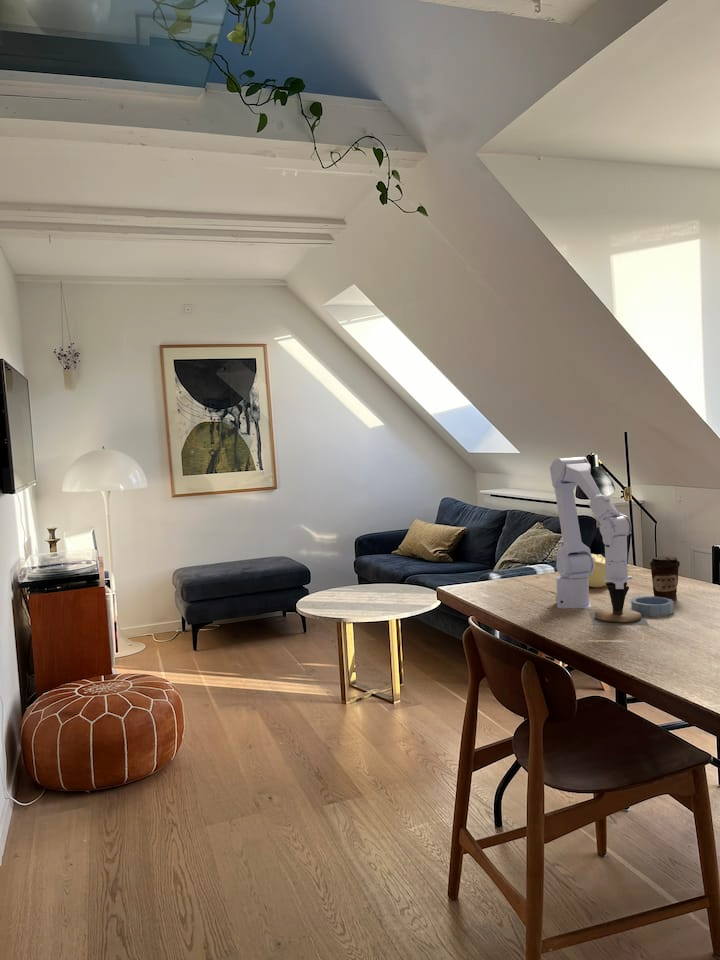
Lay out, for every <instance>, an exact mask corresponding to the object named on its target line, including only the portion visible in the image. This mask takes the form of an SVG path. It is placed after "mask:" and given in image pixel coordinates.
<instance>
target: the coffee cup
mask: <svg viewBox="0 0 720 960" xmlns="http://www.w3.org/2000/svg"><path fill="white" fill-rule="evenodd" d="M651 559H652V560H651V561H650V563H649V566H650V569H651V573H650V574H651V580H652V590H653V596H654V597H664V598H668V599H672V600H673V602H677V601H678V598H677V589H678V583H679V569H680V564H681V562H680V561H679V560H678V557H676V556H656V557H652V558H651Z"/></svg>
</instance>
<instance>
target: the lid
mask: <svg viewBox="0 0 720 960" xmlns="http://www.w3.org/2000/svg"><path fill="white" fill-rule="evenodd" d="M611 607H612V608H603V609H599V610H597V611H594V612H595V617H596V618H597V619H599V620H603V621H608V622H633V621H637V620H640V619H641V614H640V613H639V612H637V611H634V610H631V609H629V608H628V609H627V608H623V610H622V611H614V609H613V604H612V603H611Z"/></svg>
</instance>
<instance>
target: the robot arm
mask: <svg viewBox="0 0 720 960" xmlns="http://www.w3.org/2000/svg"><path fill="white" fill-rule="evenodd" d="M591 465H592V464H590V462H589V461H588V459H587V458H586V457H585V456H577V457H565V458H564V457H563V458H561V457H557V458H554V459H553V461H552V463H551V465H550V467H549V471H550V472H549V473H550V478H551V483H552V484H551V485H552V487H553V488H554V493H555V499H556V506H557V513H558V517H559V518H558V519H559V524H560V525H559V526H560V531H561V537H562V545H561V547H560V548H559V549H558V550H557V551H556V552H555V553H556V563H555V565H556V566H555V567H556V571H557V572H558V574H559V575H560V576H556V578H555V580H556V582H555V584H556V595H555V602H556V603H557V604H556V605H557V608H558V609H592V605H591V602H590V591H589V588H590V586H589V583H588V576H591V575H590V573H592V571H593V570H594V559H593V557H592V555H591V554H592V553H591V548H590V547H589V546H587V545H586V544H584V542H583V541H582V535H581V530H580V523H579V518H578V511H577V505H576V499H575V498H576V497H575V493H574V490H575V488H576V487H577V486H578V487H579V488H580V489H581V490H582V492H583V493H584V494H585V495H586V497H587V498H588V499H589V508H590V510H591V512H592V513H593V514H594V516H595V518H596V519H597V521H598V522H599V524H600V526H599V533H600V534H601V536H602V542H603V544H604V558H605V569H606V576H605V580H607V581H609V582H605V584H606V585H605V586H606V588H607V589H608V593H609V596H610V601H611V605H612V604H613V608H612V609H614V611H622V610H623V609H624V607H625V606H624V605H625V600H626V596H627V593H628V592H629V590H630V586H628V583H627V581H628V580H633V576H632V575H628V574H629V572H628V536H629V535H630V534H631V533H632V522H631V520H630V519H629V518H630V517H628V516H627V515H625V514H623V513H622V512H619V510H618V509H617V508H616V506H615V505H614V503H613V501H612V500H611V499H610V496H608V495H605V494H602V492H601V490H600V488H599V487H598V485H597V483H596V481H595V480H594V478H593V475H592V474H591V471H592V470H591V469H592V468H591Z"/></svg>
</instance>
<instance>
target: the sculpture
mask: <svg viewBox="0 0 720 960" xmlns="http://www.w3.org/2000/svg"><path fill="white" fill-rule="evenodd" d="M591 555H592V557H593V559H594V570H593V571H592V573H590V575H591V576H588V583H589V588H590V587H591V588H603V587H605V586H606V584H605V582H610V581H607V580H605V576H606V569H605V556H603V555H602V554H595V553H591Z"/></svg>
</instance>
